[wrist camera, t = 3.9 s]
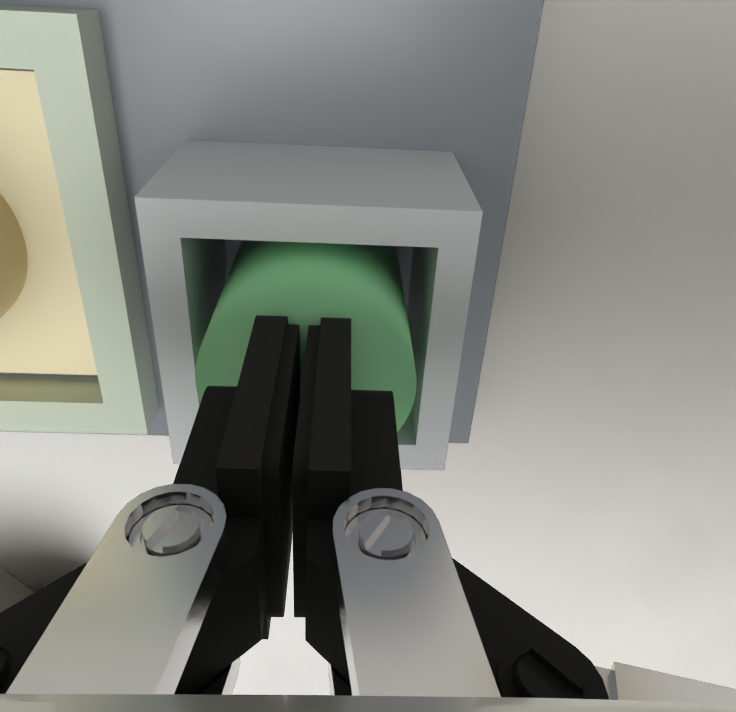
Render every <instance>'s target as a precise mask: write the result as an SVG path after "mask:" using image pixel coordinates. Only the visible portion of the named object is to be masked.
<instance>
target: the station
mask: <svg viewBox="0 0 736 712" xmlns="http://www.w3.org/2000/svg"><path fill="white" fill-rule="evenodd" d="M543 3H544V0H0V431H6V432H46V433H86V434H126V435H166V436H169V437H170V444H171V451H172V458H173V464H180V462H181V459H182V456H183V453H184V450H185V447H186V444H187V441H188V438H189V435H190V433H191V430H192V427H193V424H194V421H195V418H196V415H197V412H198V409H199V406H200V401H199V398H198V394H197V389H196V384H195V368H196V360H197V357H198V353H199V350H200V347H201V344H202V342H203V339H204V337H205V334H206V331H207V329H208V326H209V324H210V321H211V318H212V316H213V313H214V311H215V308H216V305H217V303H218V300H219V298H220V295H221V292H222V290H223V287H224V285H225V282H226V280H227V277H228V274H229V272H230V269H231V267H232V264H233V261H234V259H235V256H236V254H237V251H238V249H239V246H240V244H241V242H242V240H254V241H280V242H306V243H332V244H358V245H384V246H393V248H394V250H395V252H396V255H397V258H398V261H399V265H400V271H401V278H402V284H403V291H404V297H405V304H406V310H407V317H408V323H409V330H410V336H411V343H412V349H413V356H414V362H415V369H416V377H417V383H416V394H415V399H414V403H413V406H412V409H411V412H410V414H409V416H408V418H407V419H406V421H405V423H404V424H403V426H402V427H401V429H400V430H399V431H398V433H397V437H398V447H399V458H400V468H401V469H416V470H444V468H445V461H446V455H447V448H448V443H468V442H469V436H470V430H471V424H472V418H473V413H474V407H475V401H476V395H477V389H478V383H479V377H480V372H481V366H482V360H483V354H484V348H485V342H486V337H487V331H488V325H489V319H490V313H491V307H492V301H493V296H494V290H495V284H496V278H497V272H498V266H499V260H500V255H501V249H502V243H503V237H504V231H505V225H506V219H507V214H508V208H509V202H510V196H511V190H512V184H513V179H514V173H515V167H516V161H517V155H518V149H519V143H520V138H521V132H522V126H523V120H524V114H525V108H526V102H527V97H528V91H529V85H530V79H531V73H532V67H533V61H534V56H535V50H536V44H537V38H538V32H539V26H540V20H541V15H542V9H543Z"/></svg>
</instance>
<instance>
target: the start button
mask: <svg viewBox="0 0 736 712" xmlns="http://www.w3.org/2000/svg"><path fill="white" fill-rule="evenodd" d="M256 315H264V316H287V317H288V324H295V325H299V329H300V395H301V386H302V377H303V369H304V360H305V351H306V343H307V334H308V326H309V325H320V322H321V317H325V318H351V390H380V391H392V392H393V396H394V405H395V416H396V426H397V433H398V431H399V430H400V429H401V427H402V426H403V424H404V423H405V421H406V419H407V418H408V416H409V414H410V412H411V409H412V406H413V403H414V399H415V394H416V383H417V377H416V369H415V362H414V356H413V349H412V343H411V336H410V330H409V323H408V317H407V310H406V304H405V297H404V291H403V284H402V278H401V271H400V265H399V261H398V258H397V255H396V252H395V250H394V248H393V246H384V245H358V244H332V243H306V242H280V241H254V240H242V242H241V244H240V246H239V249H238V251H237V254H236V256H235V259H234V261H233V264H232V267H231V269H230V272H229V274H228V277H227V280H226V282H225V285H224V287H223V290H222V292H221V295H220V298H219V300H218V303H217V305H216V308H215V311H214V313H213V316H212V318H211V321H210V324H209V326H208V329H207V331H206V334H205V337H204V339H203V342H202V344H201V347H200V350H199V353H198V357H197V360H196V368H195V384H196V389H197V394H198V398H199V401H200V403H201V400H202V397H203V394H204V391H205V389H206V387H208V386H237V385H238V381H239V377H240V373H241V370H242V366H243V362H244V358H245V354H246V351H247V347H248V343H249V339H250V336H251V332H252V328H253V324H254V320H255V317H256Z"/></svg>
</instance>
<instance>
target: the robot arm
mask: <svg viewBox="0 0 736 712" xmlns="http://www.w3.org/2000/svg"><path fill="white" fill-rule="evenodd" d="M292 532H293V572H294V617H306V641H307V642H308V643H309V644H310V645H311V646H312V647H313V648H314V649H315V650H316V651H317V652H318V653H319V654H320V655H321V656H322V657H324V658H325V659H326V660H327V661H328V662H329V674H328V676H329V684H330V692H331V695H232V693H233V689H234V686H235V683H236V680H237V677H238V672H239V665H240V656H241V655H243V654H244V653H245V652H246V651H248V650H249V649H250V648H251V647H253V646H254V645H255V644H257V643H258V642H259V641H260V640H261V639H268V636H269V628H270V620H271V617H283V616H284V610H285V601H286V591H287V581H288V571H289V562H290V552H291V542H292ZM0 712H736V689H733V688H728V687H724V686H720V685H715V684H711V683H706V682H702V681H697V680H693V679H689V678H684V677H680V676H675V675H671V674H666V673H662V672H658V671H653V670H649V669H644V668H640V667H635V666H631V665H627V664H622V663H618V662H614V663H613V665H612V668H611V670H610V669H606V668H602V667H597V666H594V665H593V664H592V662H591V661H590V660H589V659H588V658H587V657H586V656H585V655H584V654H583V653H581V652H580V651H579V650H578V649H577V648H576V647H575V646H573V645H572V644H571V643H569V642H568V641H566V640H565V639H564V638H562V637H561V636H560V635H558V634H557V633H555V632H554V631H553V630H551V629H550V628H548V627H547V626H546V625H544V624H543V623H542V622H540V621H539V620H537V619H536V618H535V617H533V616H532V615H530V614H529V613H528V612H526V611H525V610H524V609H522V608H521V607H519V606H518V605H517V604H515V603H514V602H512V601H511V600H510V599H508V598H507V597H506V596H504V595H503V594H501V593H500V592H499V591H497V590H496V589H495V588H493V587H492V586H490V585H489V584H488V583H486V582H485V581H483V580H482V579H481V578H479V577H478V576H477V575H475V574H474V573H472V572H471V571H470V570H468V569H467V568H465V567H464V566H463V565H461V564H460V563H459V562H457V561H456V560H454V559H453V558H452V557H451V554H450V551H449V548H448V546H447V543H446V540H445V537H444V534H443V531H442V529H441V526H440V523H439V520H438V519H437V517H436V515H435V513H434V512H433V510H432V509H431V508H430V507H429V506H428V505H427V504H426V503H425V502H424V501H423V500H421V499H420V498H418V497H416V496H414V495H412V494H410V493H408V492H404V491H403V489H402V479H401V468H400V458H399V447H398V437H397V426H396V416H395V405H394V396H393V392H392V391H380V390H351V318H325V317H321V322H320V325H309V326H308V334H307V343H306V351H305V360H304V369H303V377H302V386H301V395H300V329H299V325H295V324H288V317H287V316H264V315H256V317H255V320H254V324H253V328H252V332H251V336H250V339H249V343H248V347H247V351H246V354H245V358H244V362H243V366H242V370H241V373H240V377H239V381H238V385H237V386H208V387H206V389H205V391H204V394H203V397H202V400H201V403H200V406H199V409H198V412H197V415H196V418H195V421H194V424H193V427H192V430H191V433H190V435H189V438H188V441H187V444H186V447H185V450H184V453H183V456H182V459H181V462H180V465H179V468H178V471H177V474H176V477H175V480H174V483H173V484H171V485H166V486H161V487H156V488H154V489H151V490H149V491H147V492H144V493H142V494H140V495H139V496H137V497H136V498H134V499H133V500H131V501H130V502H129V503H127V504H126V506H125V507H124V508H123V509H122V510H121V511H120V513H119V514H118V515H117V516H116V518H115V520H114V521H113V523H112V524H111V526H110V528H109V529H108V531H107V532H106V534H105V536H104V537H103V539H102V540H101V542H100V544H99V545H98V547H97V548H96V550H95V552H94V553H93V555H92V556H91V558H90V560H89V561H88V562H87V563H85V564H84V565H82V566H80V567H78V568H77V569H75V570H73V571H72V572H70V573H68V574H66V575H65V576H63V577H61V578H59V579H58V580H56V581H54V582H52V583H51V584H49V585H47V586H45V587H44V588H42V589H40V590H39V591H37V592H35V593H33V594H32V595H30V596H28V597H26V598H25V599H23V600H21V601H19V602H18V603H16V604H14V605H12V606H11V607H9V608H7V609H6V610H4V611H2V612H0Z"/></svg>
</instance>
